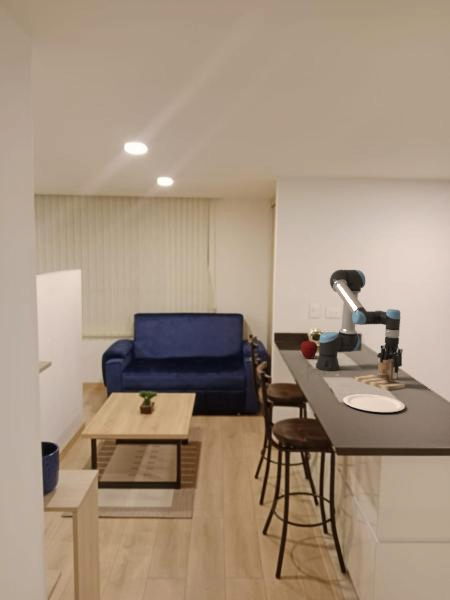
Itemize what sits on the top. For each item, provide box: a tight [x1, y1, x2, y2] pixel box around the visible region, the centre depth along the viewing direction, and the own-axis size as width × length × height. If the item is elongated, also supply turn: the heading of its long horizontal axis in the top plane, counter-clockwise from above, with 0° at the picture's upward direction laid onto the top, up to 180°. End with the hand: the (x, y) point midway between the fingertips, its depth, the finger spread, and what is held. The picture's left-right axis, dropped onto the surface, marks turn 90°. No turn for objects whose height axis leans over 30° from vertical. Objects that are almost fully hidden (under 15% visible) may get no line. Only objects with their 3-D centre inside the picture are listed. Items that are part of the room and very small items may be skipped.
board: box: [352, 373, 406, 391], centre depth 276 cm, size 26×14×2 cm, turn 31°
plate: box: [342, 393, 406, 414], centre depth 235 cm, size 29×29×2 cm
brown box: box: [377, 359, 399, 382], centre depth 271 cm, size 6×12×11 cm, turn 121°
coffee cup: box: [377, 352, 393, 375], centre depth 289 cm, size 10×10×15 cm
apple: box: [300, 340, 318, 360], centre depth 343 cm, size 12×12×13 cm
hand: (389, 376), depth 273 cm, fingers closed on brown box, 6 cm apart
